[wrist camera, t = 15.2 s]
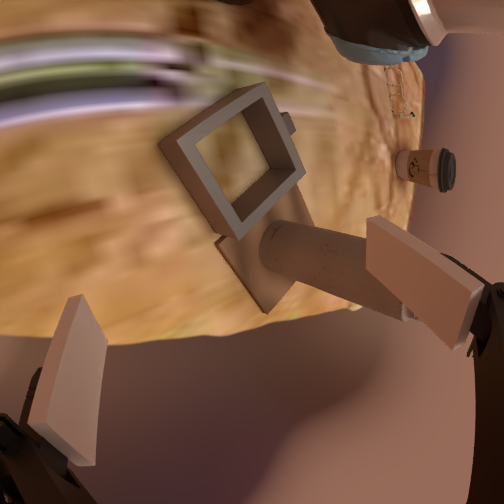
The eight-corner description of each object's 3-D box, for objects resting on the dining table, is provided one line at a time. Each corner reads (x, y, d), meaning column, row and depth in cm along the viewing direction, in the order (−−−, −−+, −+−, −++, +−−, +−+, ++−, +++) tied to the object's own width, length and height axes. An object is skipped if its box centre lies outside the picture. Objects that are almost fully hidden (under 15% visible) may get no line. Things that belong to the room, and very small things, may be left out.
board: (287, 172, 46) (291, 173, 45) (318, 245, 55) (323, 247, 54) (214, 243, 40) (218, 245, 40) (263, 312, 50) (267, 314, 49)
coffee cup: (390, 146, 66) (446, 152, 55) (406, 141, 72) (456, 146, 61) (392, 190, 71) (446, 199, 60) (408, 180, 77) (456, 188, 66)
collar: (251, 81, 37) (276, 75, 34) (290, 162, 46) (315, 163, 42) (157, 144, 32) (176, 140, 28) (216, 232, 40) (239, 240, 36)
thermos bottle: (287, 209, 46) (474, 250, 26) (302, 249, 51) (467, 300, 30) (251, 240, 43) (453, 305, 22) (270, 281, 47) (444, 352, 27)
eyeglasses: (379, 58, 57) (397, 56, 54) (401, 58, 65) (416, 57, 61) (391, 122, 66) (409, 123, 62) (411, 114, 73) (426, 114, 69)
